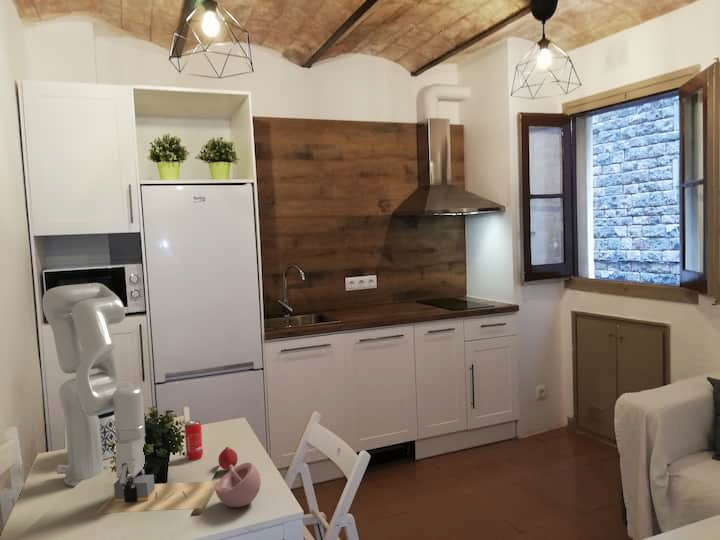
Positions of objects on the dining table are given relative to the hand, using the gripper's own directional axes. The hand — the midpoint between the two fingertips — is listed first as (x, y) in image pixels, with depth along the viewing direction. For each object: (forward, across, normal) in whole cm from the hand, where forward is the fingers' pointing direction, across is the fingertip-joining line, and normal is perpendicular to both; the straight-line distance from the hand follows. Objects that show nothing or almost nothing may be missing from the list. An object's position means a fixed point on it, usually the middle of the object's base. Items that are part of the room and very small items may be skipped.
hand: (135, 495), depth 153 cm
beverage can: (+2, -30, +8) cm, 31 cm away
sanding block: (0, 0, 0) cm, 0 cm away
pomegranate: (+2, -18, +22) cm, 28 cm away
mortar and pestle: (+2, +4, +30) cm, 30 cm away
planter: (+2, -38, -27) cm, 47 cm away
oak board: (+2, 0, +7) cm, 7 cm away
